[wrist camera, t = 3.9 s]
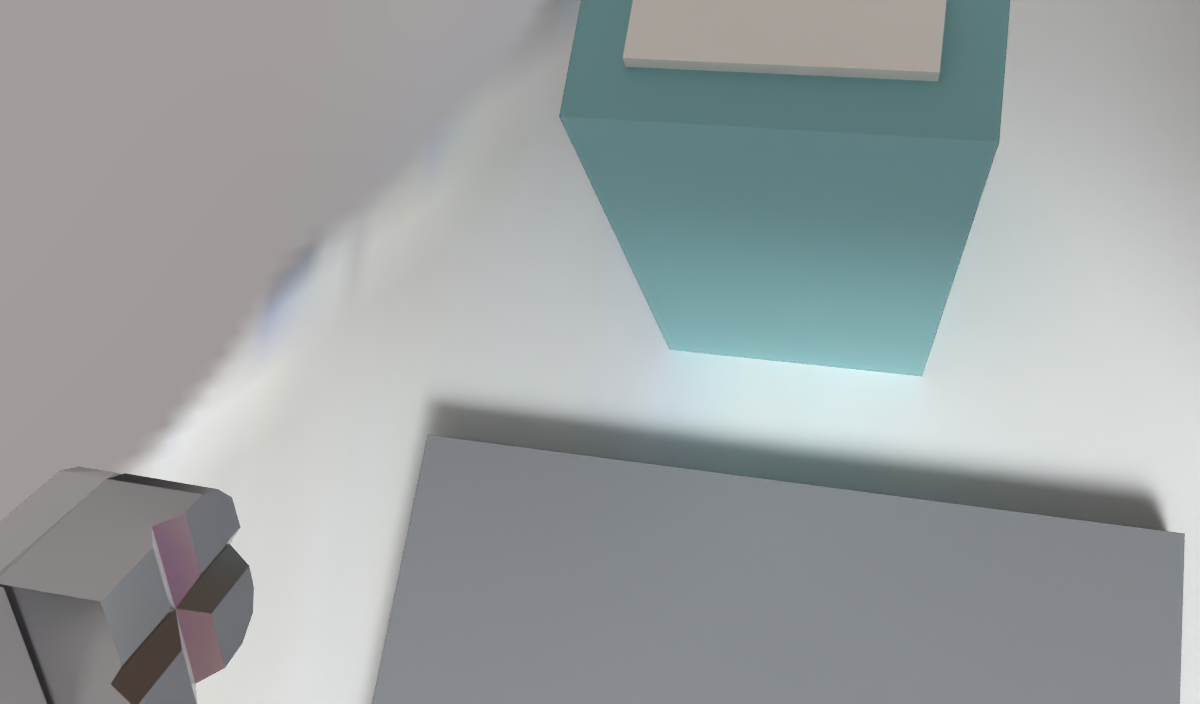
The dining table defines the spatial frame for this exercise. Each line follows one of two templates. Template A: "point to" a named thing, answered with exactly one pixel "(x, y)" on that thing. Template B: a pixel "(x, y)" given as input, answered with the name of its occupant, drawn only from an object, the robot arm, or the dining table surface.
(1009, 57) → the dining table surface
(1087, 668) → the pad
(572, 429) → the dining table surface
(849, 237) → the lettered block
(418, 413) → the dining table surface
